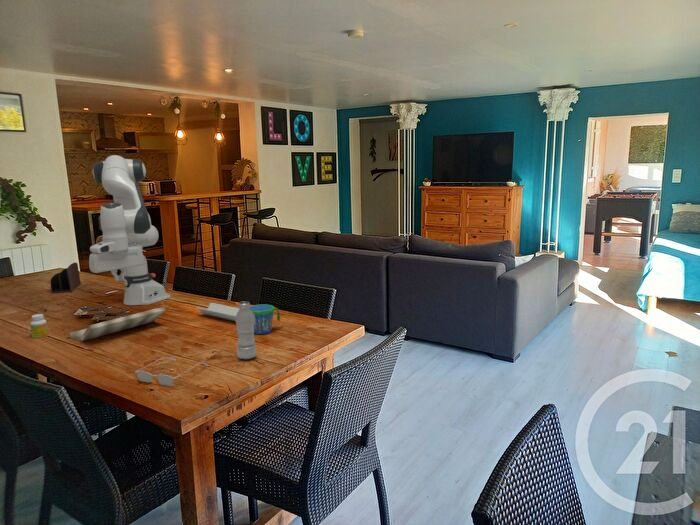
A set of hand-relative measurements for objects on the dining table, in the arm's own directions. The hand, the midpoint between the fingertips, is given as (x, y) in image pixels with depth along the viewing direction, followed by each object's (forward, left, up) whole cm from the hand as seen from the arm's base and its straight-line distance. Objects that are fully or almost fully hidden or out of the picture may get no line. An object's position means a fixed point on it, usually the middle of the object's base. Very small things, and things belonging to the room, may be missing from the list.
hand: (119, 280), depth 193 cm
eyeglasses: (+9, +48, -24) cm, 55 cm away
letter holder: (-21, -106, -23) cm, 111 cm away
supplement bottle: (+22, -25, -23) cm, 40 cm away
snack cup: (-35, +41, -23) cm, 59 cm away
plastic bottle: (-13, +58, -23) cm, 64 cm away
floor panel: (0, -3, -23) cm, 23 cm away
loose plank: (0, 0, -18) cm, 18 cm away
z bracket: (-40, +13, -23) cm, 48 cm away
